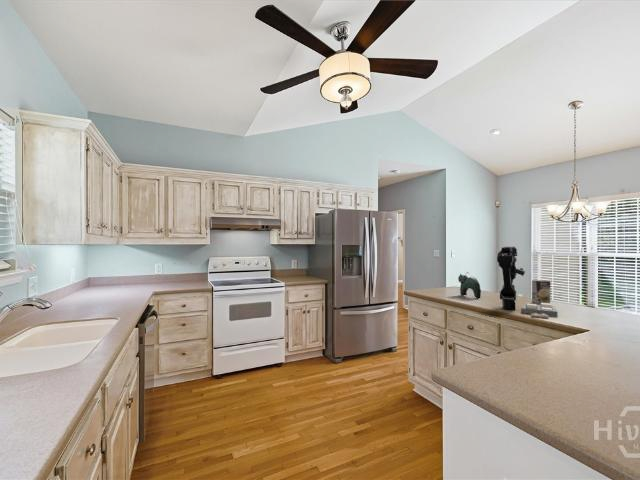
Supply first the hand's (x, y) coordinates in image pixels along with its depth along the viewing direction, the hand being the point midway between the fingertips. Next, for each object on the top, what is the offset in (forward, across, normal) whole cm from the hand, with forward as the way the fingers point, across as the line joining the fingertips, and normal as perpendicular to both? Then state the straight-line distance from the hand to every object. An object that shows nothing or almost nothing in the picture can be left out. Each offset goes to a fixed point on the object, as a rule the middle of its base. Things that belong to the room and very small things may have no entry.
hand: (510, 286), depth 210 cm
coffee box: (+13, +21, -17) cm, 30 cm away
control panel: (+13, -13, -16) cm, 24 cm away
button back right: (+10, -10, -19) cm, 24 cm away
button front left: (+10, -17, -12) cm, 23 cm away
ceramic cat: (+13, +22, +29) cm, 39 cm away
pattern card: (+13, -27, -16) cm, 34 cm away
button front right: (+12, -17, -19) cm, 28 cm away
